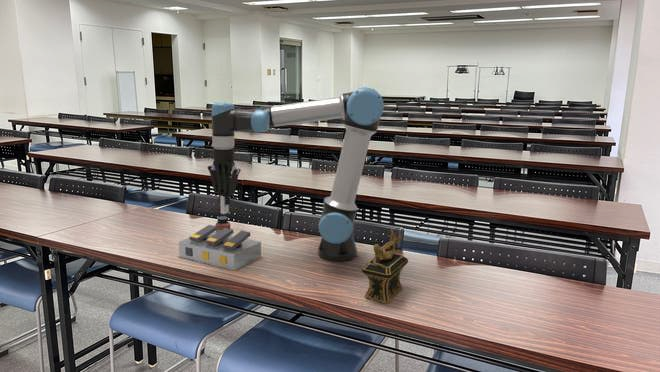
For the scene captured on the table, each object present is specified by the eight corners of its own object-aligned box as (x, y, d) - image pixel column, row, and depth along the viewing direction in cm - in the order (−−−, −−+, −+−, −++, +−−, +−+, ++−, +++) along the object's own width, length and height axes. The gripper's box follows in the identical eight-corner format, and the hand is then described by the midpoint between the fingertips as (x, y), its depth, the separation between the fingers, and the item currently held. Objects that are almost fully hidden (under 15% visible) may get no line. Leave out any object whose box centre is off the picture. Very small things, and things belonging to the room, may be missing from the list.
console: (261, 256, 178) (261, 239, 176) (233, 270, 164) (233, 252, 162) (208, 244, 189) (208, 228, 188) (178, 257, 175) (177, 239, 174)
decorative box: (388, 307, 139) (391, 244, 135) (359, 299, 144) (361, 238, 140) (411, 284, 156) (415, 227, 152) (384, 277, 161) (387, 222, 157)
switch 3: (250, 235, 175) (249, 231, 174) (232, 250, 166) (231, 246, 166) (242, 233, 177) (241, 230, 176) (223, 248, 168) (222, 244, 167)
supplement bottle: (224, 240, 195) (224, 214, 192) (233, 244, 191) (233, 217, 188) (212, 244, 190) (212, 217, 188) (222, 247, 186) (221, 220, 184)
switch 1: (217, 229, 182) (216, 226, 182) (198, 242, 173) (197, 238, 173) (209, 227, 184) (208, 224, 184) (189, 240, 175) (189, 236, 174)
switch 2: (233, 232, 179) (233, 229, 178) (214, 245, 170) (214, 241, 169) (225, 231, 180) (224, 227, 180) (206, 243, 171) (205, 240, 171)
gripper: (245, 148, 163) (245, 213, 168) (215, 145, 169) (217, 208, 174) (232, 150, 157) (232, 218, 162) (201, 147, 162) (203, 212, 167)
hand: (224, 212), depth 168 cm, fingers closed
